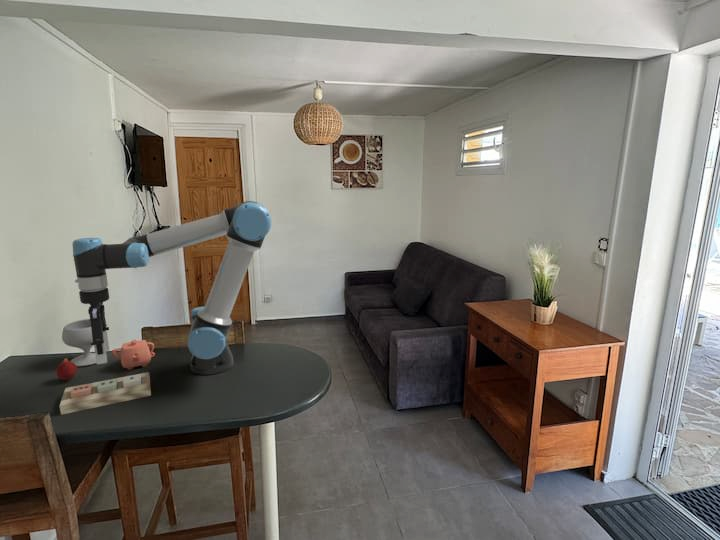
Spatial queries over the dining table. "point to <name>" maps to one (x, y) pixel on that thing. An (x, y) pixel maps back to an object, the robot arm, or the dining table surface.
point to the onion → (66, 370)
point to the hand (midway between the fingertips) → (103, 356)
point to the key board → (105, 396)
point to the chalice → (80, 341)
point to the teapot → (135, 354)
